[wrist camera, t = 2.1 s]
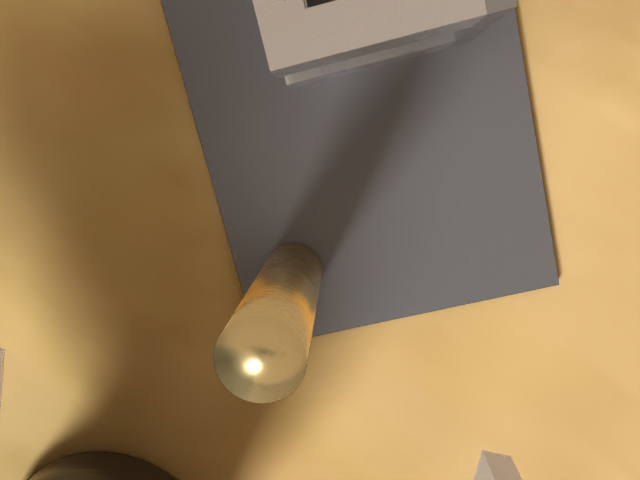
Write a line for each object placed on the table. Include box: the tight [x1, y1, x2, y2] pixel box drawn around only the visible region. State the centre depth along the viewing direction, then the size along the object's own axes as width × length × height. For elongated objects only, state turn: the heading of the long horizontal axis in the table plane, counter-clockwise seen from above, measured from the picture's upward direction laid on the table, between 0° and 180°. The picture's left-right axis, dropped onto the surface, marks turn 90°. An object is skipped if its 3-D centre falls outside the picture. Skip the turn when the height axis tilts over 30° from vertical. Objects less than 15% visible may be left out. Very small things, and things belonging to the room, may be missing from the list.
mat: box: [161, 0, 559, 337], centre depth 30 cm, size 19×25×1 cm
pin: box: [213, 242, 322, 403], centre depth 26 cm, size 4×4×13 cm
